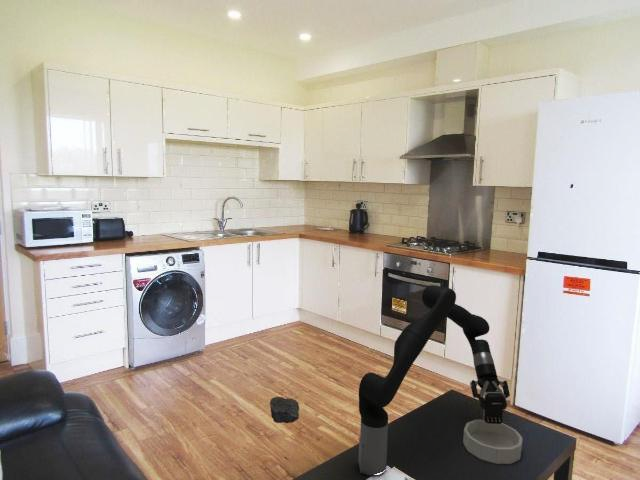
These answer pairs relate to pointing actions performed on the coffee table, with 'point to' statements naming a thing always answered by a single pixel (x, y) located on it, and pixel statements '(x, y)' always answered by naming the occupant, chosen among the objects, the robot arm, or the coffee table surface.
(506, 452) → the bowl
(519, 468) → the coffee table surface
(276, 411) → the rock
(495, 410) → the battery charger
